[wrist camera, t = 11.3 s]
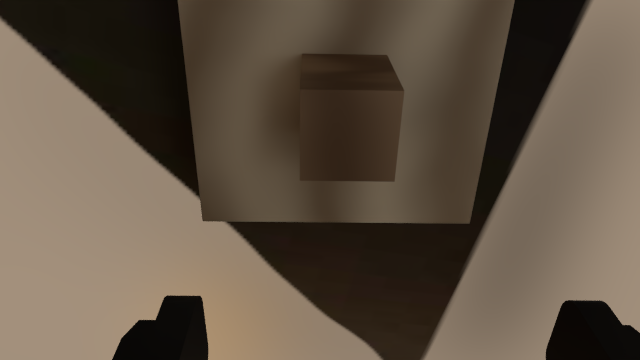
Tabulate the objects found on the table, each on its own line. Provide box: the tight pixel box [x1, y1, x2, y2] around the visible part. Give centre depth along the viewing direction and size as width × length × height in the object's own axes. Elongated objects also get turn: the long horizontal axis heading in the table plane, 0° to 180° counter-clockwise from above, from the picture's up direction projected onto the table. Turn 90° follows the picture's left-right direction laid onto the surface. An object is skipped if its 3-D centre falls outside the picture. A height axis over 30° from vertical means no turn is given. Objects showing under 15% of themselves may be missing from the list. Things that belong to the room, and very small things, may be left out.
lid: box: [178, 0, 515, 223], centre depth 23 cm, size 15×15×6 cm
